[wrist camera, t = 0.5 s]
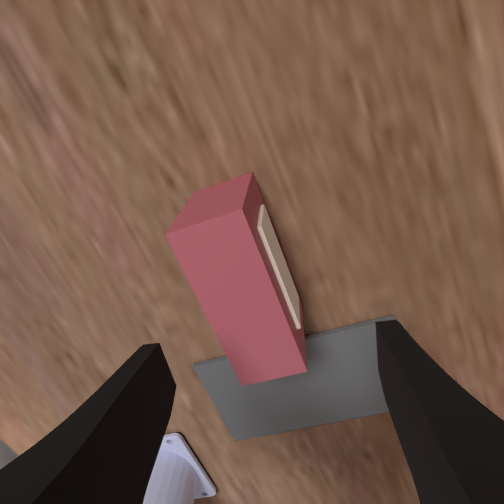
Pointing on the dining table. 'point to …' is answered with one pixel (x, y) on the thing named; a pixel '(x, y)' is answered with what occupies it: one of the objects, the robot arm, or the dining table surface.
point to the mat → (303, 386)
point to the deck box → (241, 279)
